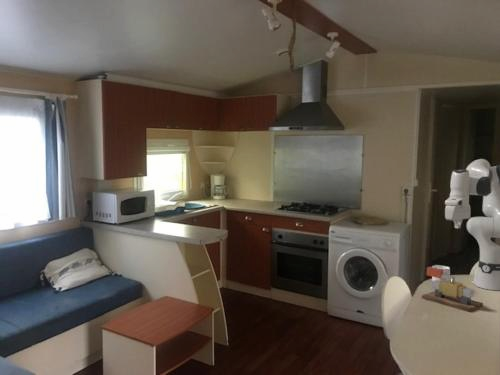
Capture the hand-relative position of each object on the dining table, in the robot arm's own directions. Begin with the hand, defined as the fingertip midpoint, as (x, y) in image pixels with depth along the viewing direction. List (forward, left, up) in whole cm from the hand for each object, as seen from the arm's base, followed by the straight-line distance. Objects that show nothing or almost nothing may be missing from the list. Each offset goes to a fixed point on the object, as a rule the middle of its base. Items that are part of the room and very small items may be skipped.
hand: (457, 228), depth 208 cm
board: (+12, +5, -35) cm, 37 cm away
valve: (+13, +5, -34) cm, 36 cm away
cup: (-5, -10, -35) cm, 37 cm away
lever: (+13, -1, -25) cm, 28 cm away
